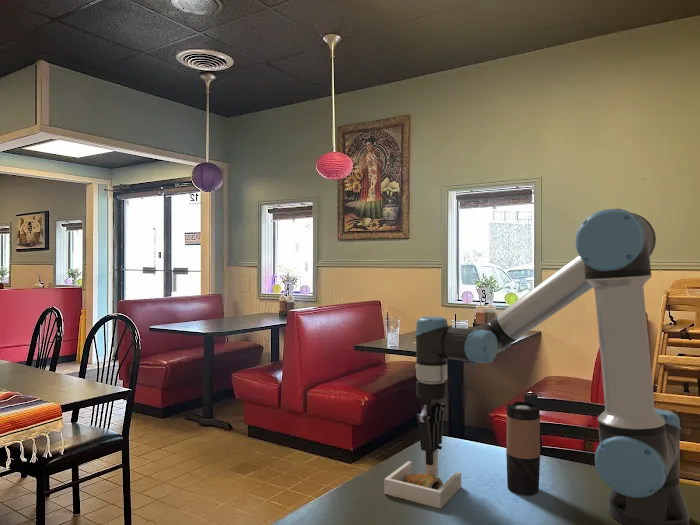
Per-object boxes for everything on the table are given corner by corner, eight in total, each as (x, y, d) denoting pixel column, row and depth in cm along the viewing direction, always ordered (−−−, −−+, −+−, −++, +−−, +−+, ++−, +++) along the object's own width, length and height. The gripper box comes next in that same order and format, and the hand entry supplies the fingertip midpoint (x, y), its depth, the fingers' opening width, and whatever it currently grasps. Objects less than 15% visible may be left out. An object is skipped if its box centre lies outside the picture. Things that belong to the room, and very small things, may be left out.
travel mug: (542, 497, 124) (542, 411, 124) (507, 494, 126) (507, 409, 125) (537, 483, 132) (537, 402, 131) (505, 481, 133) (505, 400, 133)
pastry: (397, 487, 131) (397, 471, 131) (416, 479, 135) (416, 464, 135) (428, 499, 124) (428, 483, 124) (446, 491, 128) (446, 475, 128)
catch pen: (461, 486, 130) (461, 472, 130) (440, 508, 119) (440, 492, 119) (408, 474, 137) (408, 461, 137) (384, 493, 126) (384, 479, 126)
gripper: (428, 373, 140) (428, 464, 140) (405, 383, 128) (406, 482, 129) (455, 377, 136) (455, 470, 136) (435, 387, 124) (435, 489, 125)
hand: (431, 476), depth 132 cm, fingers closed
